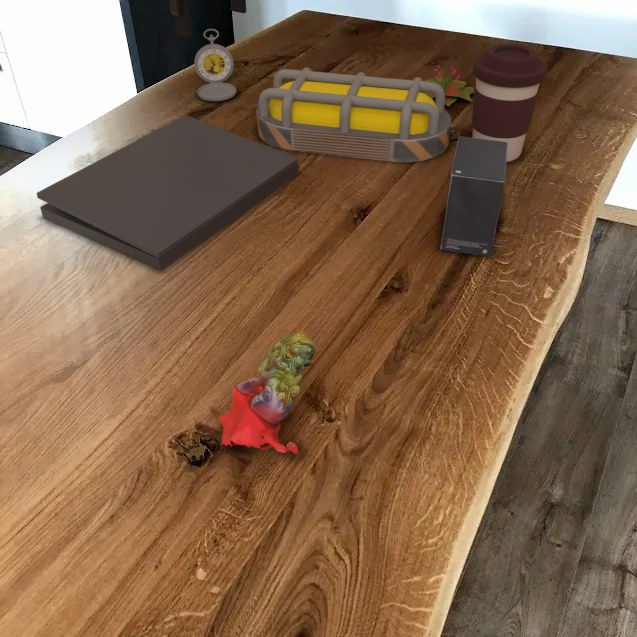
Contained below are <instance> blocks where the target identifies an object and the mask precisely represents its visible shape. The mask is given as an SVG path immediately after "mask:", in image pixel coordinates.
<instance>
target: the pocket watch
mask: <svg viewBox="0 0 637 637" xmlns="http://www.w3.org/2000/svg"><path fill="white" fill-rule="evenodd" d="M209 31H214V32H215V33H216V36H214V35H213V34H209V36H208V37H207V36H206V34H207V32H209ZM219 36H220V32H219V31H218V30H217V29H215V28H209V29H206V30H204V32H203V37H204V39H206V40H208V41H209V42H210V43H209V44H206V45H203V46H202V47H201V48H199V49H198V51H197V52H196V54H195V57H194V61H193V62H194V63H193V64H194V70H195V72H196V74H197V76H198V77H199V78H201V79H202V81H204V82H207V83H206V84H203V85H202V86H199V88H198V89H197V96H198V97H199V98H200V99H201V100H204V101H208V102H221V101H227V100H230V99H232V98H234V97H235V96H236V94H237V91H238V90H237V88H236V86H235V85H234V84H232V83H228V82H225V81H227V80H228V78H229V77H230V76H231V75H232V73H233V71H234V67H235V62H234V58H233V55H232V53H231V52H230V51H229V49H227V47H225V46H223V45H221V44H218V43H215V42H214V41H216V39H217V38H218V37H219ZM222 65H224V66H222ZM212 71H213V72H212Z"/></svg>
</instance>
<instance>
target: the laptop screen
mask: <svg viewBox="0 0 637 637" xmlns="http://www.w3.org/2000/svg"><path fill="white" fill-rule="evenodd" d="M296 164H299V158H298V157H296V156H293V155H290V154H288V153H285V152H283V151H281V150H277V149H275V148H272V147H270V146H267V145H265V144H262V143H260V142H257V141H254V140H251V139H249V138H246V137H244V136H241V135H239V134H236V133H234V132H231V131H228V130H225V129H223V128H221V127H218V126H215V125H213V124H211V123H208V122H205V121H202V120H199V119H197V118H195V117H193V116H189V115H187V114H184V115H182V116H180V117H179V118H176V119H175V120H173V121H171V122H169V123H167V124H165V125H163V126H161V127H159V128H158V129H156V130H154V131H152V132H150V133H148V134H146V135H144V136H142V137H141V138H139V139H137V140H134V141H133V142H131V143H129V144H127V145H125V146H123V147H121V148H120V149H118V150H115V151H114V152H111V153H110V154H108V155H106V156H104V157H102V158H100V159H99V160H97V161H95V162H93V163H91V164H89V165H87V166H85V167H83V168H81V169H80V170H77V171H76V172H74V173H72V174H70V175H68V176H66V177H64V178H62V179H60V180H58V181H56V182H55V183H52V184H51V185H48V186H47V187H45V188H43V189H41V190H39V191H37V192H36V196H37V199H39V200H40V201H43V202H45V203H46V204H47V203H49V204H51V205H53V206H55V207H57V208H59V209H61V210H63V211H65V212H67V213H69V214H71V215H73V216H75V217H77V218H79V219H81V220H83V221H85V222H87V223H89V224H91V225H93V226H95V227H97V228H99V229H101V230H103V231H105V232H107V233H109V234H111V235H113V236H115V237H117V238H119V239H121V240H123V241H125V242H127V243H129V244H131V245H133V246H135V247H137V248H139V249H141V250H143V251H145V252H147V253H149V254H151V255H153V256H155V257H157V258H160V257H162V256H163V255H164V254H166V253H167V252H169V251H170V250H172V249H173V248H175V247H176V246H178V245H179V244H181V243H182V242H183V241H185V240H186V239H188V238H189V237H191V236H192V235H194V234H195V233H197V232H198V231H200V230H201V229H202V228H204V227H205V226H207V225H208V224H210V223H211V222H213V221H214V220H216V219H217V218H219V217H220V216H221V215H223V214H224V213H226V212H227V211H229V210H230V209H232V208H233V207H235V206H236V205H238V204H239V203H240V202H242V201H243V200H245V199H246V198H248V197H249V196H251V195H252V194H254V193H255V192H257V191H258V190H259V189H261V188H262V187H264V186H265V185H267V184H268V183H270V182H271V181H273V180H274V179H276V178H277V177H278V176H280V175H281V174H283V173H284V172H286V171H287V170H289V169H290V168H292V167H293V166H295V165H296Z"/></svg>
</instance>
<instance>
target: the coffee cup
mask: <svg viewBox="0 0 637 637" xmlns="http://www.w3.org/2000/svg"><path fill="white" fill-rule="evenodd" d="M547 71H548V65H547V63H546V62H545V60H543V59H541V58H540V57H539V55H538V52H537V51H536V50H535V49H533V48H531V47H530V46H527V45H522V44H516V43H500V44H495V45H492V46H490V47H488V48H487V50H486V51H485V53H482V54H480V55H478V56H476V58H475V59H474V60H473V64H472V75H473V76H474V78H475V84H474V85H473V88H474V93H473V98H472V113H471V114H472V115H471V126H472V134H471V138H478V139H485V140H493V141H502V142H507V143H508V147H507V161H506V163H510V162H513V161H515V160H517V159H518V158H519V157H521V154H522V152H523V147H524V143H525V140H526V137H527V133H528V132H529V129H530V127H531V123H532V120H533V116H534V112H535V109H536V105H537V101H538V98H539V92H540V91H539V86H540V84H541V83H543V82H544V81H545V80H546V76H547Z"/></svg>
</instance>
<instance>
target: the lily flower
mask: <svg viewBox="0 0 637 637" xmlns="http://www.w3.org/2000/svg"><path fill="white" fill-rule="evenodd" d="M454 67H455V66H452V67H451V69H450V72H449V73H447V71H445V74H444V72H443V70H442V69H441V67H440V66H439V65H437V68H438V69H439V70H440V71H441V72H440V71H439V70H438V69H436V68H434V69H433V70H434V71H436V72H437V76H435V77H434V78H435V79H434V78H429V79H426V80H424V81H425V82H434V83H437V84H439V85H440V86H441V87H442V88H443V89H444V92H445V106H447V107H448V108H449V107H450V106H451V105H452V104H453V103H455V102H456V101H457V100H458V98H461V99H463V100H466V101H469V102H471V103H473V100H472V98H471V96H470V95H471V94H474V87H472V86H466V85H467V81H463V80H458V79H459V78H461V75H458V76H456V78H455V79H452V78H453V77H454V76H455V75H456V72H457V70H458V68H456V69H454ZM453 69H454V70H453ZM452 70H453V71H452ZM408 91H409V90H408ZM422 93H424V94H426V95H427V96H429V97H430V98H431V99H434V98H436V96H435V94H434V93H432V92H422Z"/></svg>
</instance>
